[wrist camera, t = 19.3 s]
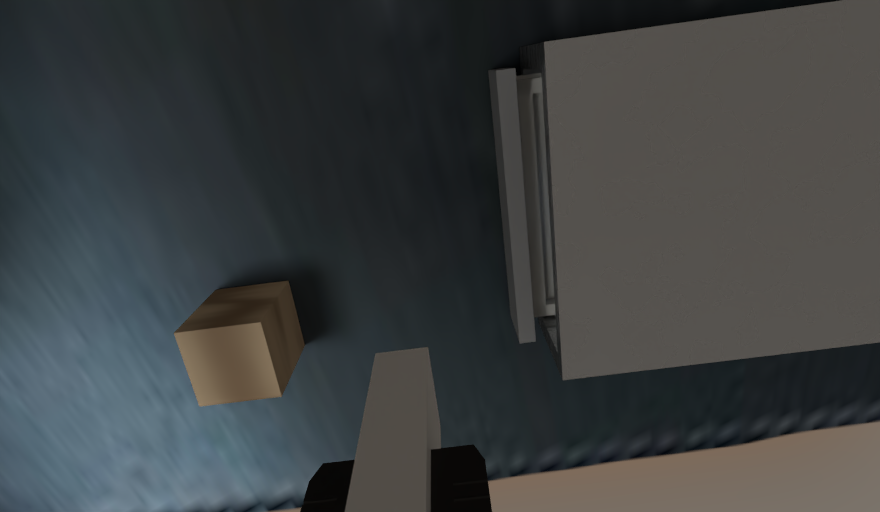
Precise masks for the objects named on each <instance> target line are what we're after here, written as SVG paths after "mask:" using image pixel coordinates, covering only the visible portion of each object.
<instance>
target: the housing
mask: <svg viewBox="0 0 880 512" xmlns="http://www.w3.org/2000/svg"><path fill="white" fill-rule="evenodd" d="M519 53H520V67H521V75H527V74H534V73H541V76H542V93H543V110H544V127H545V144H546V162H547V179H548V196H549V213H550V230H551V248H552V265H553V282H554V299H555V315H550V316H542V317H538V320H539V325H540V327H541V330H542V332H543V334H544V337H545V339H546V341H547V344H548V346H549V349H550V351H551V353H552V356H553V358H554V361H555V363H556V365H557V368H558V370H559V373H560V375H561V377H562V380H568V379H577V378H585V377H594V376H602V375H610V374H619V373H627V372H635V371H644V370H652V369H660V368H669V367H677V366H686V365H694V364H702V363H711V362H719V361H727V360H736V359H744V358H752V357H761V356H769V355H778V354H786V353H794V352H803V351H811V350H819V349H828V348H836V347H844V346H853V345H861V344H870V343H878V342H880V0H841V1H834V2H827V3H819V4H812V5H805V6H798V7H791V8H784V9H776V10H769V11H762V12H755V13H748V14H740V15H733V16H726V17H719V18H712V19H705V20H697V21H690V22H683V23H676V24H669V25H662V26H654V27H647V28H640V29H633V30H626V31H619V32H611V33H604V34H597V35H590V36H583V37H576V38H568V39H561V40H554V41H547V42H541V43H537V44H532V45H527V46H523V47H519Z"/></svg>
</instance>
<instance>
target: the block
mask: <svg viewBox="0 0 880 512" xmlns="http://www.w3.org/2000/svg"><path fill="white" fill-rule="evenodd" d="M174 335H175V338H176V341H177V343H178V346H179V349H180V352H181V355H182V358H183V361H184V363H185V366H186V369H187V372H188V375H189V378H190V381H191V383H192V386H193V389H194V392H195V395H196V398H197V401H198V403H199V406H207V405H216V404H224V403H232V402H241V401H249V400H257V399H265V398H274V397H282V395H283V392H284V390H285V388H286V386H287V384H288V381H289V379H290V377H291V375H292V373H293V370H294V368H295V366H296V364H297V362H298V359H299V357H300V355H301V353H302V351H303V348H304V346H305V344H304V340H303V336H302V332H301V328H300V324H299V320H298V316H297V312H296V308H295V304H294V300H293V296H292V292H291V288H290V284H289V281H281V282H273V283H265V284H257V285H250V286H242V287H234V288H226V289H218V290H215V291H214V292H213V293H212V294H211V295H210V296H209V297H208V298H207V299H206V300H205V301H204V302H203V303H202V304H201V306H200V307H199V308H198V309H197V310H196V311H195V312H194V313H193V314H192V315H191V316H190V317H189V318H188V319H187V320H186V321H185V322H184V323H183V324H182V325H181V326H180V327H179V328H178V329H177V330H176V331H175V332H174Z"/></svg>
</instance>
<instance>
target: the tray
mask: <svg viewBox="0 0 880 512" xmlns="http://www.w3.org/2000/svg"><path fill="white" fill-rule="evenodd" d="M488 74H489V84H490V95H491V106H492V117H493V128H494V139H495V150H496V161H497V172H498V182H499V193H500V204H501V215H502V226H503V237H504V248H505V259H506V270H507V280H508V291H509V302H510V313H511V318H512V321H513V324H514V327H515V330H516V334H517V337H518V340H519V343H527V342H535V341H536V338H535V325H534V317H542V316H550V315H555V299H554V282H553V265H552V248H551V230H550V213H549V196H548V179H547V162H546V144H545V127H544V110H543V93H542V76H541V73H534V74H527V75H520V76H516V70H515V68H500V69H493V70H488Z"/></svg>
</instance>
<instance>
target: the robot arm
mask: <svg viewBox="0 0 880 512" xmlns="http://www.w3.org/2000/svg"><path fill="white" fill-rule="evenodd" d="M300 512H492V509H491V502H490V494H489V487H488V480H487V472H486V465H485V459H484V458H483V457H482V455H481V454H480V453H479V451H478V450H477V448H476V447H475V446H474V445H465V446H457V447H448V448H441V432H440V421H439V414H438V408H437V402H436V395H435V389H434V383H433V376H432V370H431V364H430V357H429V351H428V347H425V348H416V349H408V350H400V351H392V352H384V353H376V354H375V359H374V364H373V369H372V374H371V379H370V384H369V389H368V395H367V400H366V405H365V410H364V415H363V420H362V425H361V431H360V436H359V441H358V446H357V451H356V456H355V460H349V461H341V462H332V463H323V464H322V466H321V467H320V468H319V469H318V471H317V472H316V473H315V475H314V476H313V477H312V479H311V480H310V481H309V484H308V488H307V491H306V494H305V498H304V505H302V508H301V511H300Z"/></svg>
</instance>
